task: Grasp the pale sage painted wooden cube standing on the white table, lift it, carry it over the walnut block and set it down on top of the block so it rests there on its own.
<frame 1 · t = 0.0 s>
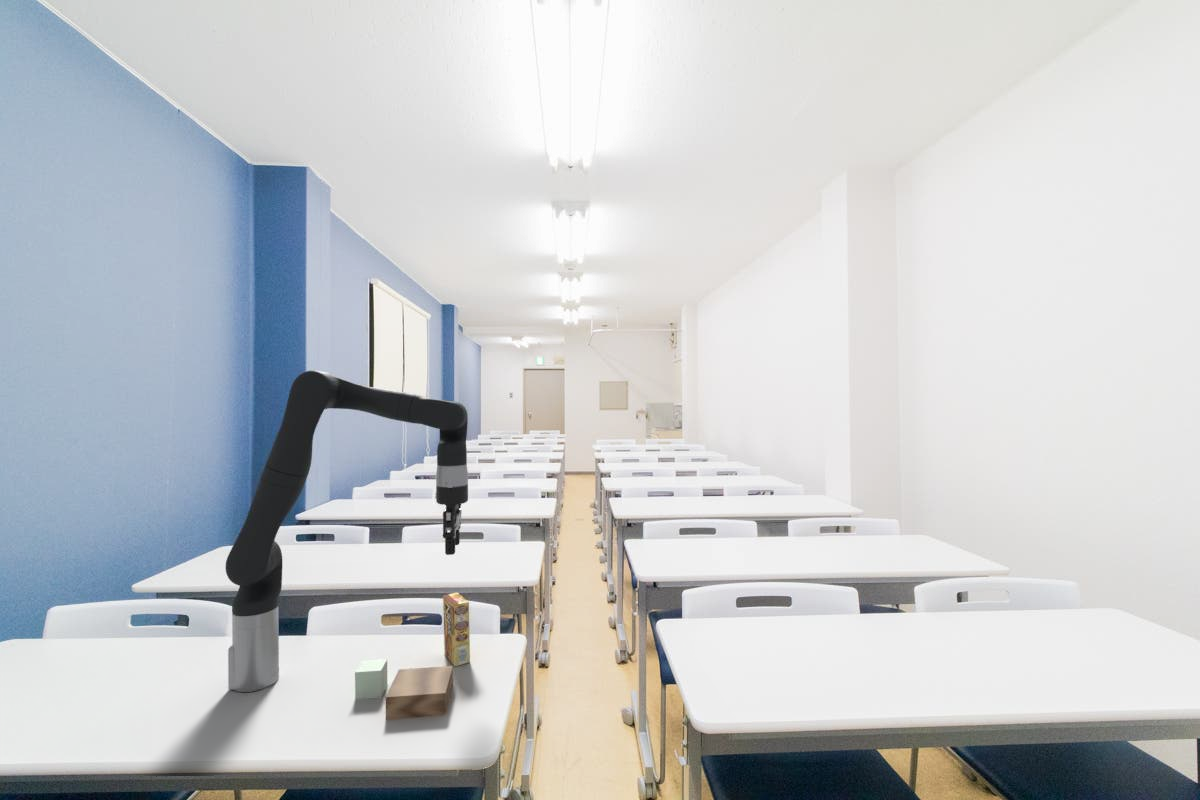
hand: (452, 549, 137), 29 cm above the table, fingers open, 8 cm apart
sage cube: (371, 692, 126), on the table
candy box: (456, 659, 142), on the table
walnut block: (421, 703, 122), on the table
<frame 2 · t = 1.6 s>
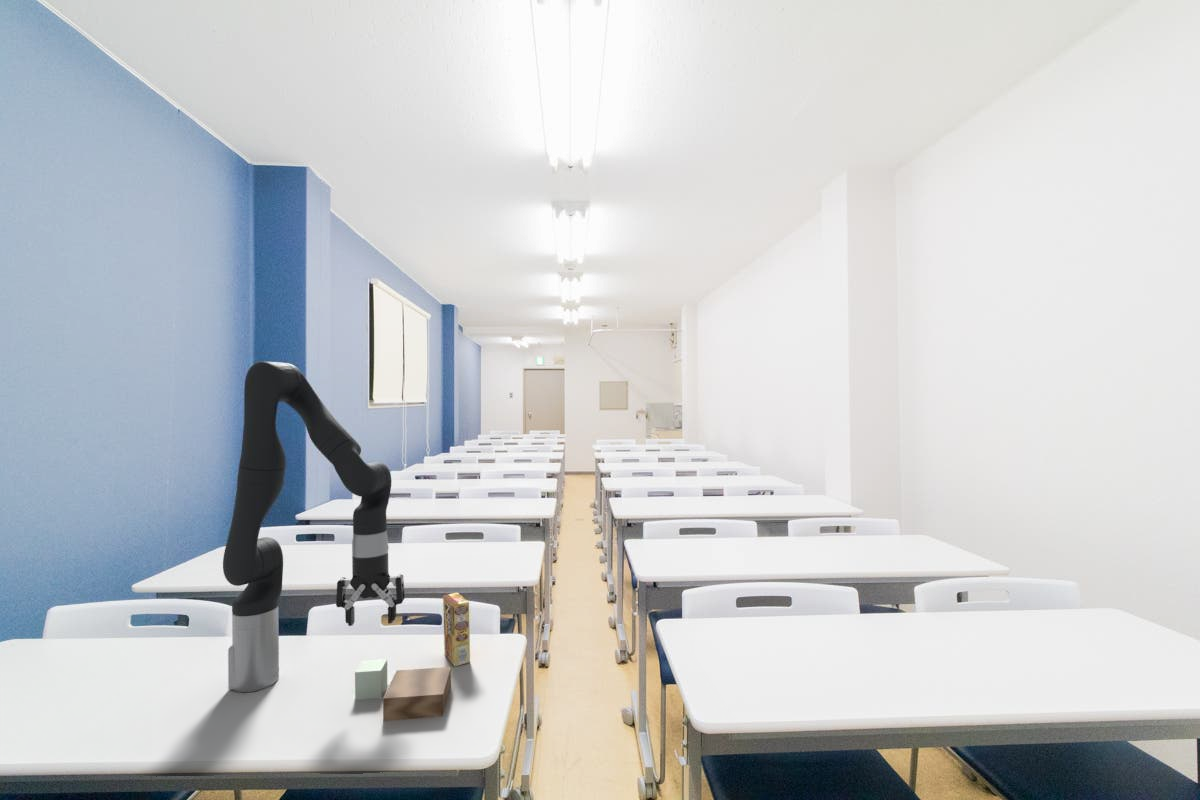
hand: (371, 623, 126), 15 cm above the table, fingers open, 8 cm apart
nothing on the table moved.
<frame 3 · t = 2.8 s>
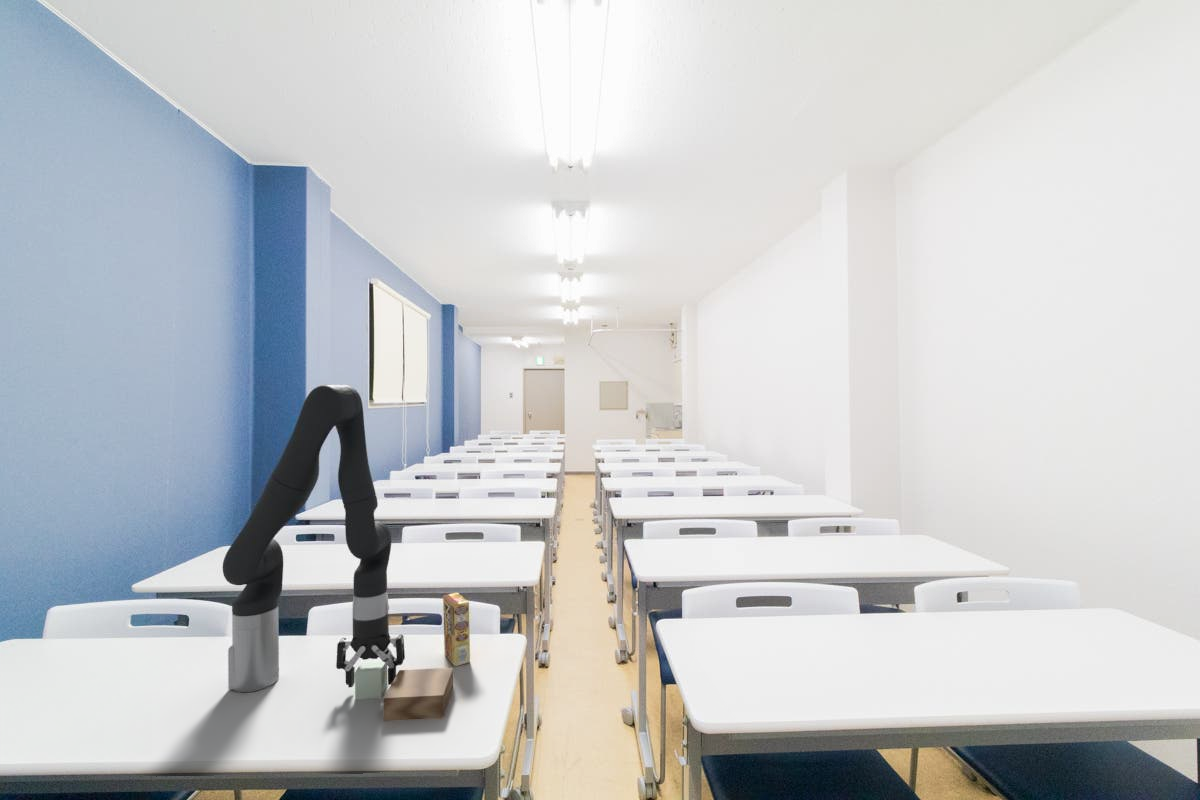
hand: (371, 684, 126), 2 cm above the table, fingers open, 8 cm apart
nothing on the table moved.
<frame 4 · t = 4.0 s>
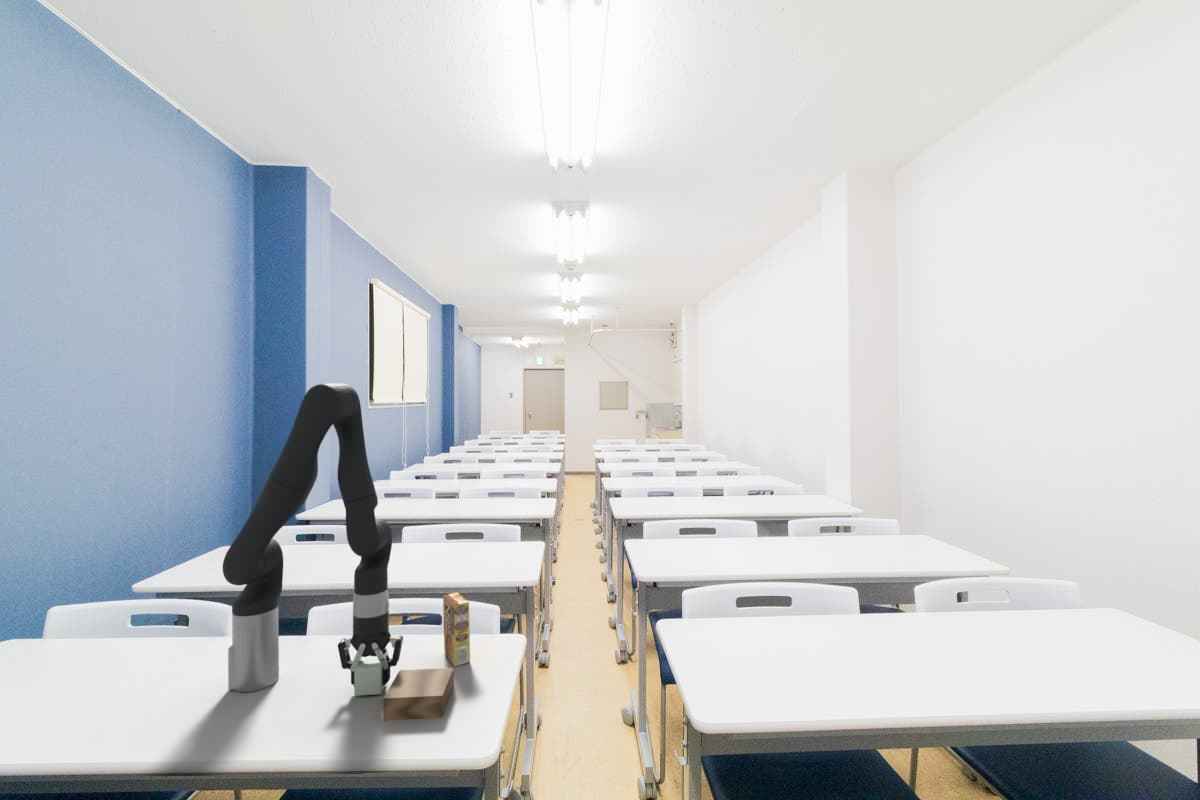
hand: (370, 684, 126), 2 cm above the table, fingers closed on sage cube, 5 cm apart
sage cube: (370, 688, 126), point 1 cm above the table, touching gripper
everything else where it was.
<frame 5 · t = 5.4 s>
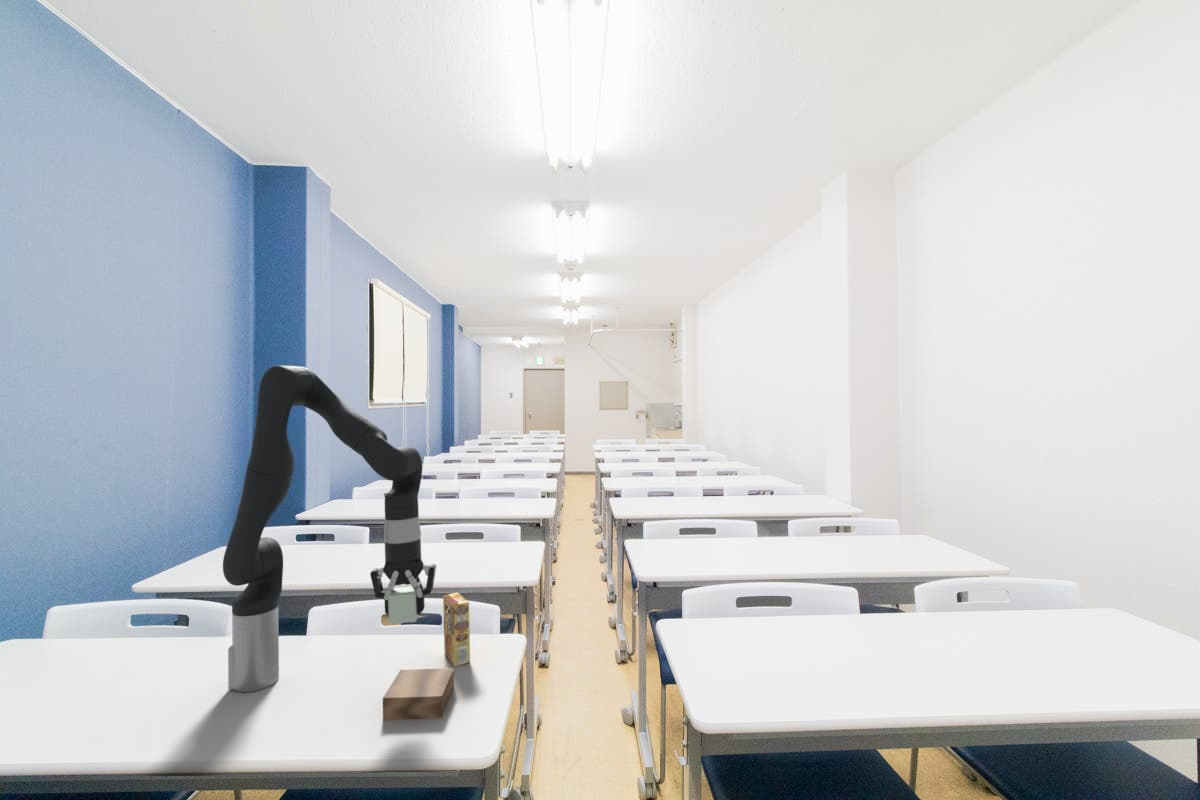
hand: (405, 614, 123), 19 cm above the table, fingers closed on sage cube, 5 cm apart
sage cube: (405, 618, 123), point 18 cm above the table, touching gripper
everything else where it was.
when the fingers open (6 cm above the table, at t = 7.5 s): sage cube stays where it is, resting on walnut block.
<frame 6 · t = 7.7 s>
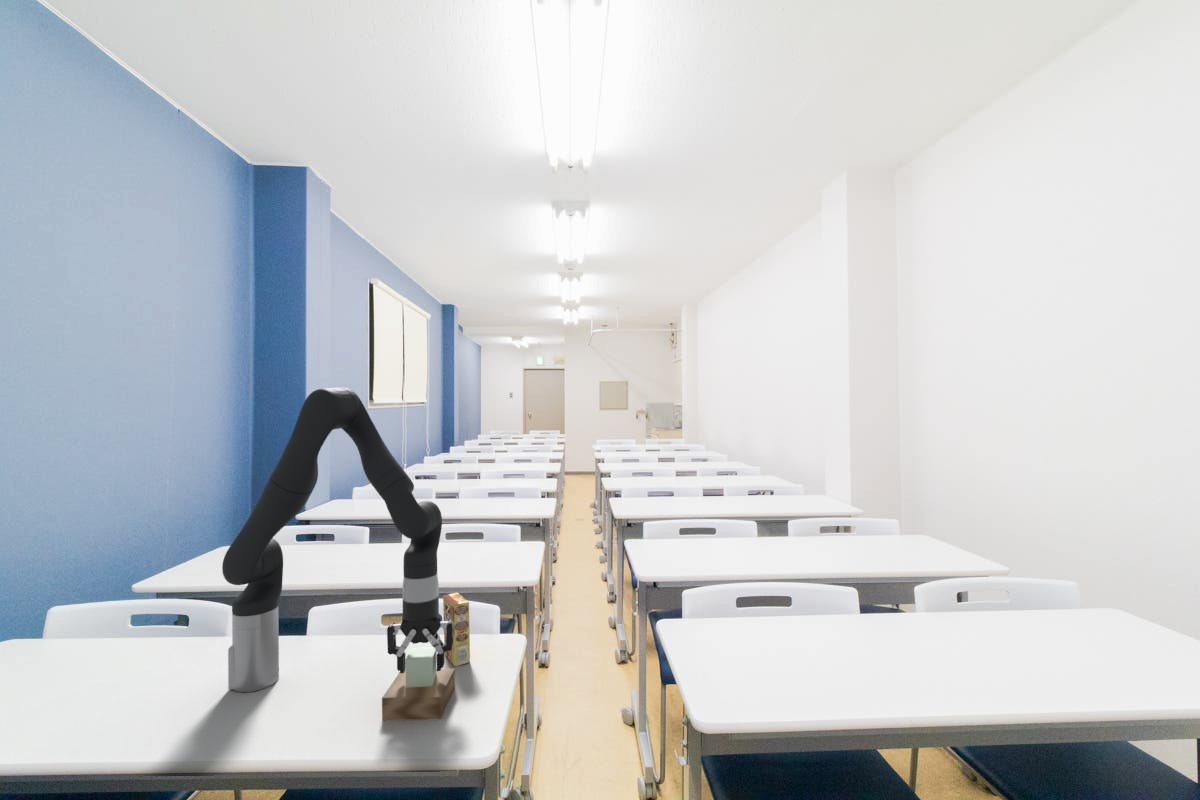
hand: (421, 670, 122), 7 cm above the table, fingers open, 7 cm apart
sage cube: (421, 680, 122), point 5 cm above the table, touching walnut block
walnut block: (420, 705, 121), on the table, touching sage cube
everything else where it was.
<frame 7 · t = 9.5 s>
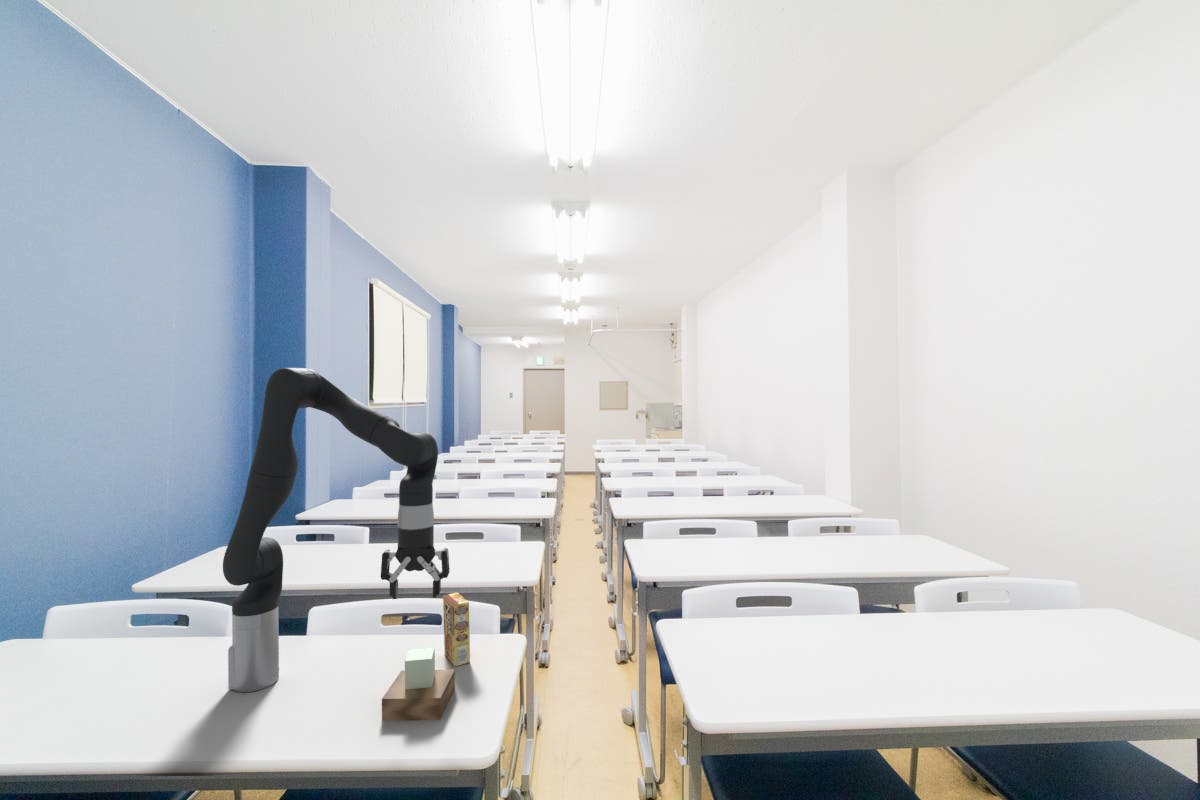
hand: (415, 597, 123), 22 cm above the table, fingers open, 8 cm apart
nothing on the table moved.
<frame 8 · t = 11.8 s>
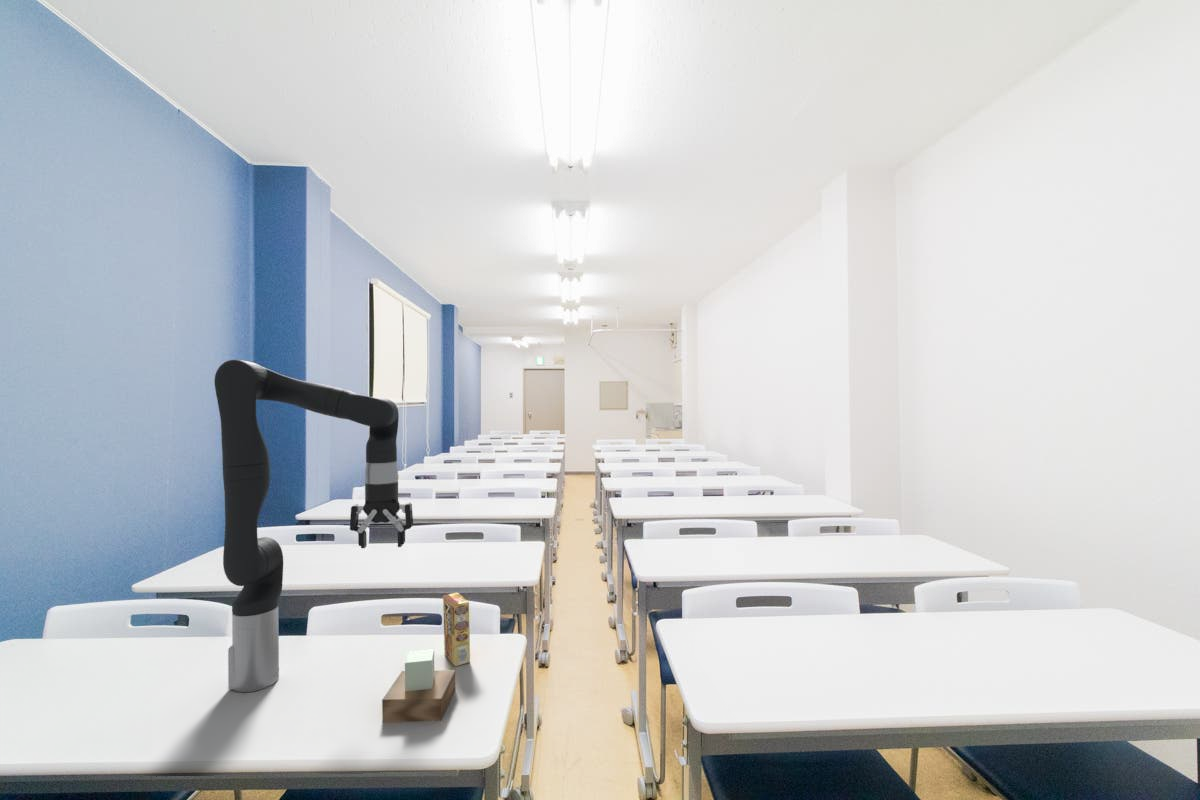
hand: (382, 546, 136), 30 cm above the table, fingers open, 8 cm apart
at the end: sage cube inside the target area on the walnut block (0.2 cm from its centre), point 5.0 cm above the walnut block's base; sage cube tilted 0°; sage cube touching walnut block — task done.
